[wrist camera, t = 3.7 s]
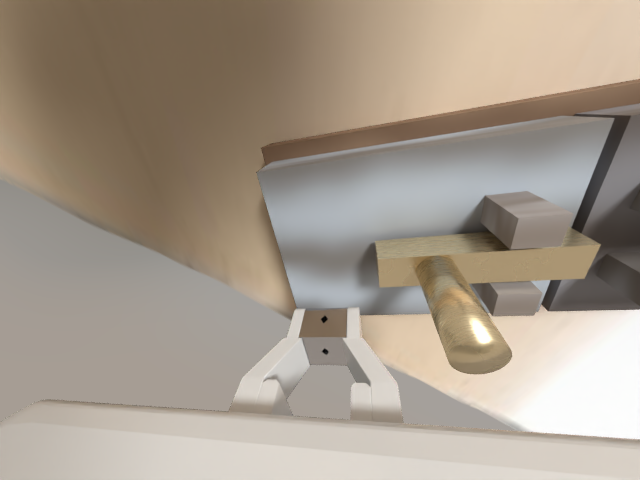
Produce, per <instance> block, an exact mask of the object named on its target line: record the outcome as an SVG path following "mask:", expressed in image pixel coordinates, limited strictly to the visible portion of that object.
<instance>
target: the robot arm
mask: <svg viewBox="0 0 640 480" xmlns="http://www.w3.org/2000/svg"><path fill="white" fill-rule="evenodd" d="M310 365H345V366H348V368H349V370H350V372H351V374H352V375H353V377H354V379H355V381H356V383H354V384H353V385H352V386H351V415H350V416H351V417H350V420H345V419H330V418H316V417H300V416H293V414H292V412H291V410H290V407H289V405H288V402H287V400H286V399H287V398H288V397H289V395H290V394H291V392H292V391H293V390H294V388H295V387H296V385H297V384H298V382H299V381H300V380H301V378H302V377H303V375H304V374H305V373H306V371H307V370H308V368H309V367H310ZM0 480H640V439H626V438H611V437H596V436H581V435H567V434H552V433H537V432H522V431H506V430H491V429H477V428H462V427H447V426H446V427H445V426H433V425H417V424H404V423H403V416H402V410H401V403H400V397H399V391H398V384H397V382H396V381H395V380H394V378H393V377H392V376H391V374H390V373H389V372H388V370H387V369H386V368H385V366H384V365H383V364H382V362H381V361H380V360H379V358H378V357H377V356H376V354H375V353H374V352H373V350H372V349H371V348H370V346H369V345H368V344H367V342H366V341H365V340H364V338H362V328H361V319H360V310H359V307H345V308H306V309H295V311H294V313H293V317H292V320H291V323H290V327H289V330H288V334H287V337H286V338H283V339H282V340H281V341H280V342H278V344H277V345H275V346H274V347H273V348H272V349H271V350H270V351H269V352H268V353H267V354H266V355H265V356H264V357H263V358H262V359H261V360H260V361H259V362H258V363H257V364H256V365H255V366H254V367H253V368H252V369H251V370H250V371H249V372H247V374H245V375H244V376H243V378H242V380H241V382H240V385H239V387H238V390H237V392H236V394H235V396H234V399H233V401H232V404H231V406H230V409H229V411H228V412H226V411H212V410H196V409H182V408H167V407H151V406H137V405H123V404H108V403H94V402H78V401H65V400H51V399H47V400H41V401H38V402H35V403H33V404H31V405H29V406H28V407H25V408H24V409H22V410H20V411H18V412H16V413H14V414H13V415H11V416H9V417H7V418H6V419H4V420H2V421H1V422H0Z"/></svg>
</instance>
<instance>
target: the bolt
mask: <svg viewBox="0 0 640 480" xmlns="http://www.w3.org/2000/svg"><path fill="white" fill-rule="evenodd" d="M600 246H601V244H599V243H597V242H595V241H594V240H592V239H590V238H588V237H587V236H585V235H583V234H581V233H579V232H578V231H576V230H574V229H572V228H570V227H568V229H567V232H566V235H565V237H564V240H563V242H562V245H561V246H557V247H542V248H527V249H512V250H510V249H509V248H508V247H507V246H506V245H505V244H504V243H503V242H502V241H500V240H499V239H498V238H497V237H496V236H495V235H494V234H493V233H492V232H491V231H490V232H478V233H465V234H453V235H441V236H428V237H416V238H404V239H392V240H379V241H375V249H376V265H377V273H378V280H379V287H402V286H421V288H422V291H423V294H424V297H425V299H426V302H427V305H428V307H429V310H430V313H431V315H432V318H433V321H434V323H435V326H436V329H437V332H438V334H439V337H440V340H441V342H442V345H443V348H444V350H445V353H446V356H447V359H448V361H449V364H450V365H451V366H452V367H453V368H454V369H456V370H458V371H460V372H463V373H467V374H485V373H490V372H494V371H496V370H499V369H501V368H502V367H504V366H505V365H507V364H508V363H509V361H510V360H511V357H512V352H511V349H510V348H509V346H508V345H507V343H506V342H505V340H504V338H503V337H502V335H501V334H500V332H499V331H498V329H497V328H496V326H495V324H494V323H493V321H492V320H491V318H490V317H489V315H488V314H487V312H486V310H485V309H484V307H483V306H482V304H481V303H480V301H479V300H478V298H477V296H476V295H475V293H474V292H473V290H472V289H471V287H470V286H469V284H471V283H495V282H518V281H541V280H564V279H585V277H586V274H587V272H588V270H589V268H590V266H591V264H592V262H593V260H594V258H595V256H596V254H597V252H598V250H599V248H600Z"/></svg>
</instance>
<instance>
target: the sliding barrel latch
mask: <svg viewBox="0 0 640 480" xmlns="http://www.w3.org/2000/svg"><path fill="white" fill-rule="evenodd" d="M261 149H262V153H263V156H264V160H265V164H266V166H265V167H264V168H262V169H261V170H259V171H258V172H256V173H257V176H258V180H259V183H260V186H261V190H262V193H263V196H264V200H265V203H266V206H267V210H268V213H269V216H270V220H271V223H272V226H273V230H274V233H275V236H276V240H277V243H278V247H279V250H280V253H281V257H282V260H283V263H284V267H285V270H286V273H287V277H288V280H289V283H290V287H291V290H292V293H293V297H294V300H295V303H296V307H297V309H306V308H345V307H359V310H360V315H395V314H431V313H430V310H429V307H428V305H427V302H426V299H425V297H424V294H423V291H422V288H421V286H402V287H379V280H378V273H377V265H376V249H375V241H379V240H392V239H404V238H416V237H428V236H441V235H453V234H465V233H478V232H490V231H491V232H492V233H493V234H494V235H495V236H496V237H497V238H498V239H499V240H500V241H502V242H503V243H504V244H505V245H506V246H507V247H508V248H509V249H510V250H512V249H527V248H542V247H557V246H561V245H562V242H563V240H564V237H565V235H566V232H567V229H568V227H570V228H572V229H574V230H576V231H578V232H579V233H581V234H583V235H585V236H587V237H588V238H590V239H592V240H594V241H595V242H597V243H599V244H601V246H600V248H599V250H598V252H597V254H596V256H595V258H594V260H593V262H592V264H591V266H590V268H589V270H588V272H587V274H586V277H585V279H564V280H541V281H518V282H495V283H471V284H469V286H470V287H471V289H472V290H473V292H474V293H475V295H476V296H477V298H478V300H479V301H480V303H481V304H482V306H483V307H484V309H485V310H486V312H487V313H491V315H492V316H531V315H534V314H535V312H538V311H539V308H540V306H541V304H542V305H543V306H544V307H545V308H546V309H547V310H548V311H587V310H635V309H640V79H637V80H632V81H626V82H620V83H614V84H609V85H603V86H597V87H592V88H586V89H580V90H575V91H569V92H563V93H557V94H552V95H546V96H540V97H535V98H529V99H523V100H517V101H512V102H506V103H500V104H495V105H489V106H483V107H478V108H472V109H466V110H460V111H455V112H449V113H443V114H438V115H432V116H426V117H420V118H415V119H409V120H403V121H398V122H392V123H386V124H381V125H375V126H369V127H363V128H358V129H352V130H346V131H341V132H335V133H329V134H324V135H318V136H312V137H306V138H301V139H295V140H289V141H284V142H278V143H272V144H269V145H267V146H264V147H262V148H261Z"/></svg>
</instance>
